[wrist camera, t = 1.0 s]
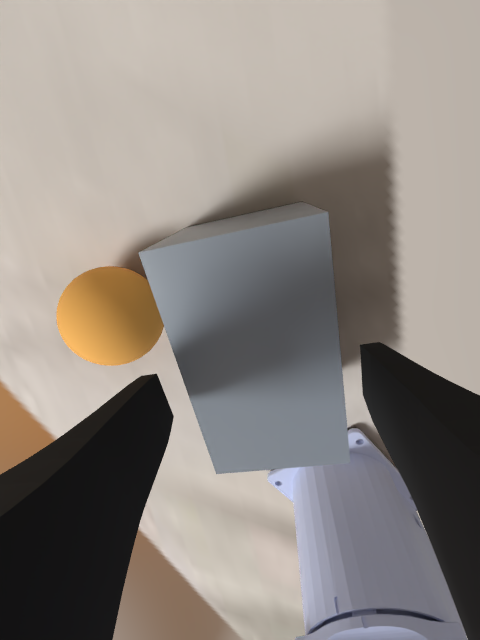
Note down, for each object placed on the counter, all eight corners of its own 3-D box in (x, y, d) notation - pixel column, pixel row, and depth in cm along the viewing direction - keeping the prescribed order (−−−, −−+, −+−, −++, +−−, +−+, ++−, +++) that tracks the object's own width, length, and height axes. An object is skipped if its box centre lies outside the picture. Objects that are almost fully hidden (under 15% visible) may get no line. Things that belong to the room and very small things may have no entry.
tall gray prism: (323, 375, 18) (350, 463, 13) (230, 387, 19) (216, 473, 13) (302, 201, 14) (328, 211, 8) (186, 227, 15) (138, 252, 9)
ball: (193, 303, 17) (167, 345, 12) (140, 350, 19) (99, 403, 14) (127, 237, 16) (71, 258, 11) (76, 294, 17) (9, 332, 13)
